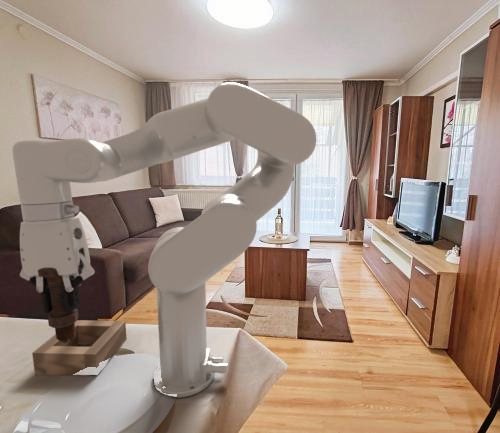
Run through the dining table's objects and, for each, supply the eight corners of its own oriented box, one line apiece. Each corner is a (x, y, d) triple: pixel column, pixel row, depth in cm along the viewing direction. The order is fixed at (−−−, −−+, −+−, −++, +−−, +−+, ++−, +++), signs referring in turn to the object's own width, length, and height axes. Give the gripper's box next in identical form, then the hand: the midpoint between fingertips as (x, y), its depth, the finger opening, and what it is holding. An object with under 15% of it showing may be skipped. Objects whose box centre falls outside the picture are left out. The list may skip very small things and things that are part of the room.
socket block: (126, 339, 74) (125, 321, 73) (97, 376, 61) (95, 354, 60) (75, 338, 75) (73, 320, 74) (34, 374, 61) (32, 352, 60)
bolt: (78, 328, 59) (68, 257, 57) (88, 336, 56) (79, 262, 53) (44, 341, 55) (33, 265, 52) (53, 351, 51) (41, 271, 49)
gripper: (105, 208, 55) (115, 300, 58) (21, 210, 55) (35, 301, 58) (81, 214, 47) (94, 319, 50) (-16, 217, 48) (2, 320, 51)
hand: (62, 308), depth 54 cm, fingers closed on bolt, 3 cm apart
